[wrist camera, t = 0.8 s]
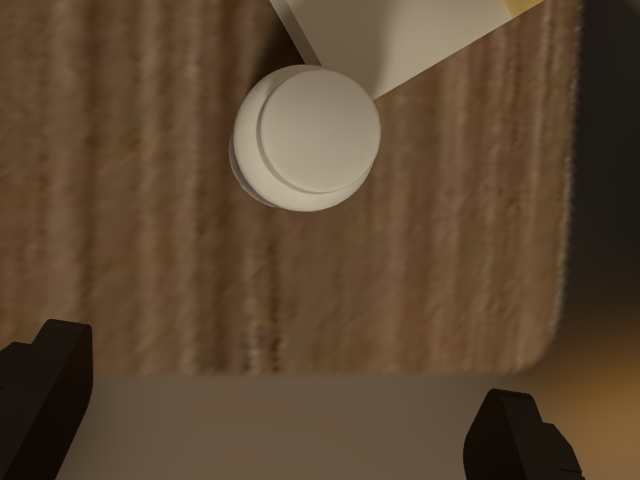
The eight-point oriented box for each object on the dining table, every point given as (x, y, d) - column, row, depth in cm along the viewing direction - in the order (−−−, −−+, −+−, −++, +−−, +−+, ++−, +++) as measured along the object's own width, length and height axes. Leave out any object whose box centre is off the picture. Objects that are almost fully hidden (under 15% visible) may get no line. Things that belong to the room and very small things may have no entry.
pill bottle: (298, 229, 29) (341, 247, 19) (205, 166, 28) (201, 150, 18) (360, 138, 29) (433, 111, 19) (269, 72, 28) (299, 8, 18)
